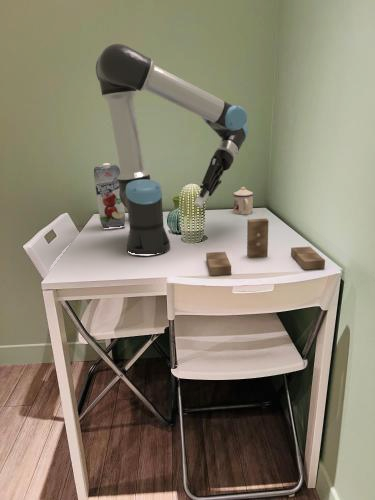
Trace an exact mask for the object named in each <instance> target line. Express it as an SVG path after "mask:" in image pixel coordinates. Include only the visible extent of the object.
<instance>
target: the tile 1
mask: <svg viewBox="0 0 375 500" xmlns="http://www.w3.org/2000/svg"><path fill="white" fill-rule="evenodd" d="M205 257H206V264H207V267H208V272H209V275H210V276H223V275H232V264H231V262H230V260H229V257H228V255H227V252H226V251H216V252H215V251H214V252H212V251H211V252H206V253H205Z"/></svg>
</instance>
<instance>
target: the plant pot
mask: <svg viewBox="0 0 375 500" xmlns="http://www.w3.org/2000/svg"><path fill="white" fill-rule="evenodd" d="M171 200H172V202H173V205H174V210H175V209H177V208H178V207H179V195H173V196H172V197H171Z"/></svg>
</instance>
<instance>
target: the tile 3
mask: <svg viewBox="0 0 375 500" xmlns="http://www.w3.org/2000/svg"><path fill="white" fill-rule="evenodd" d="M290 256H291V257H292V258H293V259H294V261H295V262H296V263H297V264H298V265H299V266H300V267H301V268H302V270H304V271H305V270H306V271H307V270H318V269H319V270H320V269H322V270H323V269H325V268H326V266H325V265H326V260H325V258H324V257H322V255H320V254H319V253H318V252H317V251H316V250H314V249H313V247H311V246H298V247H297V246H296V247H295V246H294V247H290Z"/></svg>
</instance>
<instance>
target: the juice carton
mask: <svg viewBox="0 0 375 500" xmlns="http://www.w3.org/2000/svg"><path fill="white" fill-rule="evenodd" d="M120 173H121V170H120V166H118V165H117V164H112V165H111V163H108V162H105V163H103V164H102V165H100V166H99V165H97V166H95V167H94V169H93V176H94V177H93V178H94V185H95V194H96V199H97V209H98V215H99V221H100V224H101V227H102V229H103V228H109V227H120V226H124V227H125V224H126V212H125V206H124V205H123V204H122V202H121V200H120V197H119V190H120V188H119V183H118V176H119V175H120Z"/></svg>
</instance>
